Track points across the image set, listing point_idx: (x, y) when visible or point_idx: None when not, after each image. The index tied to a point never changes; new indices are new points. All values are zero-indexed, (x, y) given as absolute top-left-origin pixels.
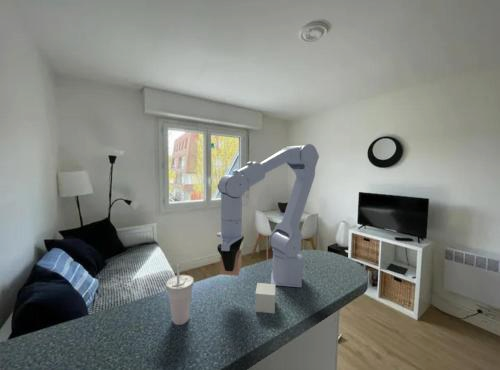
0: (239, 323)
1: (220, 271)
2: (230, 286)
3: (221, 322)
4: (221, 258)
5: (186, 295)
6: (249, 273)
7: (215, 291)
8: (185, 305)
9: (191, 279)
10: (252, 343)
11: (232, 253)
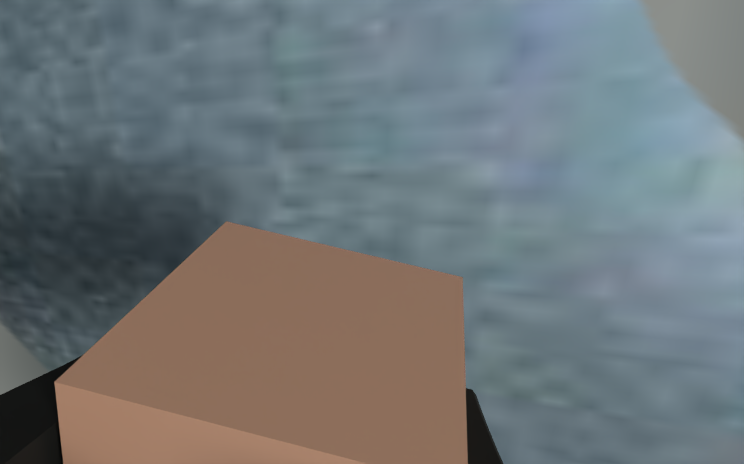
0: (111, 256)
1: (209, 239)
2: (511, 216)
3: (98, 154)
4: (86, 376)
5: None
6: (704, 381)
7: (446, 85)
8: None
9: None
10: (2, 302)
11: None
